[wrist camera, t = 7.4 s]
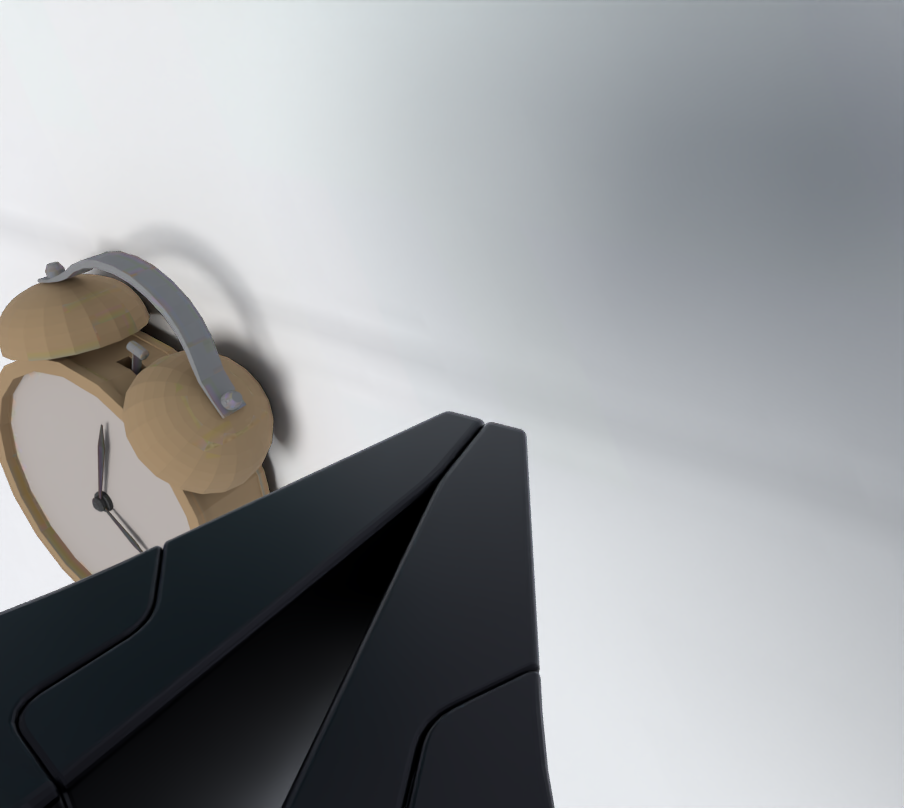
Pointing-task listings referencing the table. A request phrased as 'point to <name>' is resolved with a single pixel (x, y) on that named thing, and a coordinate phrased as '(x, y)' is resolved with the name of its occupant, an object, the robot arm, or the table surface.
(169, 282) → the alarm clock
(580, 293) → the table surface
